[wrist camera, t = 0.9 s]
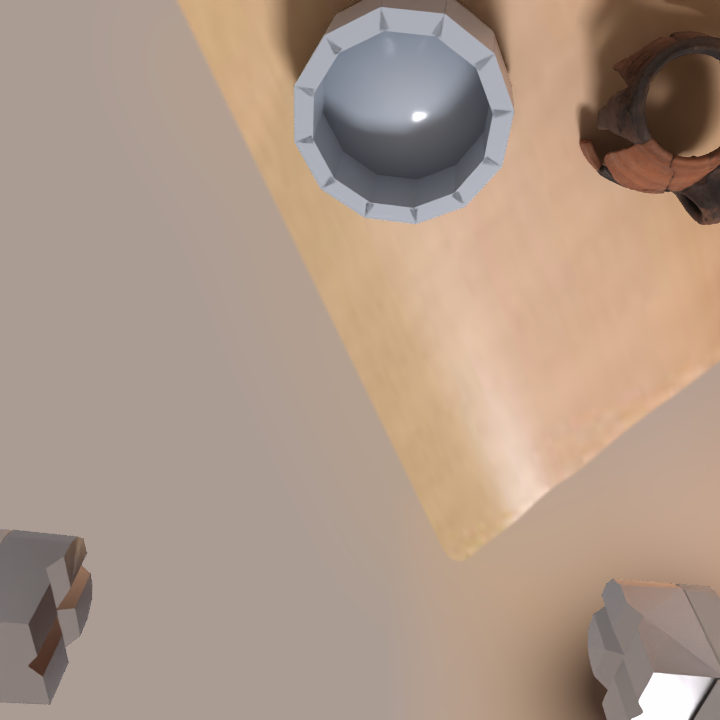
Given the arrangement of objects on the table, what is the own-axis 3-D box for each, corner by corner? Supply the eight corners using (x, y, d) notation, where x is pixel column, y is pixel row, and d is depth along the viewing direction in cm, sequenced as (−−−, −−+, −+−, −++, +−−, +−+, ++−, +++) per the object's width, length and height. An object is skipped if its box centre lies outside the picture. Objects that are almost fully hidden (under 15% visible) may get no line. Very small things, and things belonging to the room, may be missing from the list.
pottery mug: (539, 118, 45) (583, 100, 37) (652, 17, 44) (723, -24, 36) (643, 253, 47) (706, 264, 39) (754, 161, 46) (841, 153, 38)
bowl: (465, -56, 38) (464, -36, 35) (533, 147, 46) (538, 180, 42) (272, 44, 44) (254, 70, 40) (361, 211, 51) (353, 246, 47)
